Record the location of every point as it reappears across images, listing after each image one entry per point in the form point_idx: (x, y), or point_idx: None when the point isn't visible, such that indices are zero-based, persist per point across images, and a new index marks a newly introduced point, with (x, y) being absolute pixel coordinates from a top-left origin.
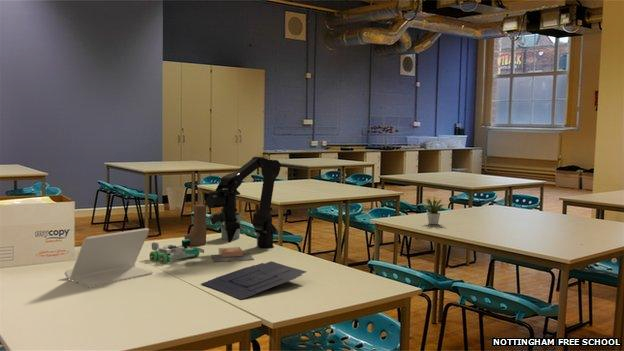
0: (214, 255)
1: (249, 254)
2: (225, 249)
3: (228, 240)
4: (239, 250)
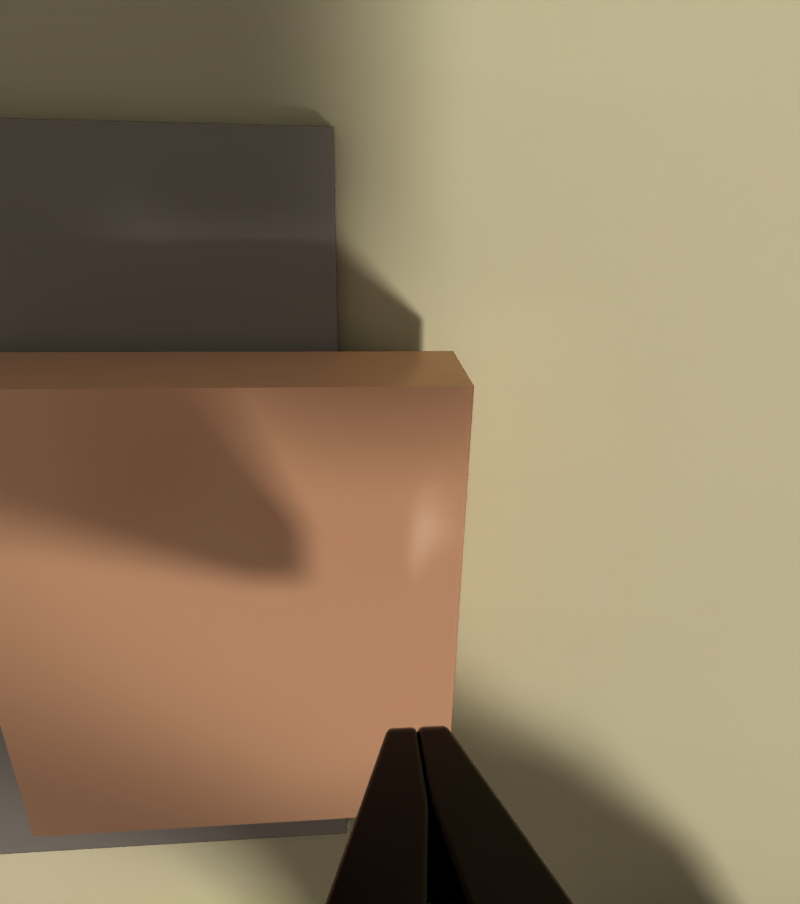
0: (245, 214)
1: (216, 835)
2: (258, 535)
3: (370, 784)
4: (92, 787)
